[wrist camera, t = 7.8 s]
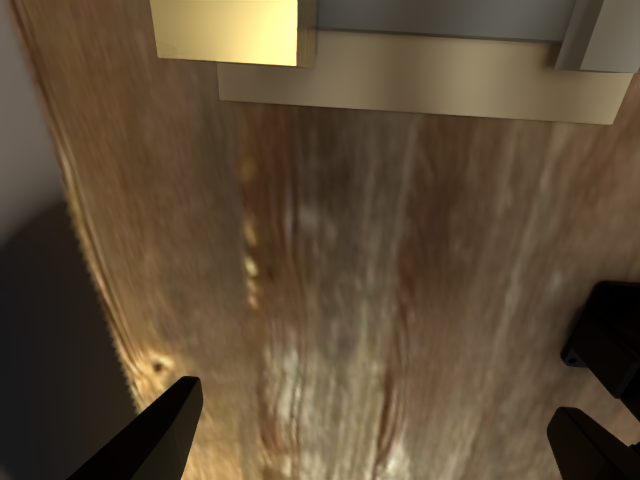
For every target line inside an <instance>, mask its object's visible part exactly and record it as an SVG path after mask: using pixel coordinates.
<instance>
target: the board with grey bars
mask: <svg viewBox="0 0 640 480" xmlns="http://www.w3.org/2000/svg"><path fill="white" fill-rule="evenodd" d="M639 67H640V0H320V3H319V26H318V48H317V56H316V55H314V69H303V68H286V67H270V66H253V65H236V64H224V63H217V72H218V86H219V99H220V100H225V101H241V102H257V103H273V104H289V105H304V106H320V107H336V108H352V109H368V110H384V111H400V112H416V113H432V114H448V115H464V116H480V117H496V118H511V119H527V120H543V121H559V122H575V123H591V124H607V125H612V124H613V122H614V119H615V117H616V115H617V112H618V110H619V107H620V105H621V103H622V100H623V98H624V96H625V93H626V91H627V88H628V86H629V84H630V81H631V79H632V77H633V74H634V73H637V72H638V69H639Z"/></svg>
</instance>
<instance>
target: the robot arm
mask: <svg viewBox="0 0 640 480" xmlns="http://www.w3.org/2000/svg"><path fill="white" fill-rule="evenodd" d="M607 289H608V290H607ZM606 290H607V291H606ZM561 359H562V361H563V362H564V363H565V364H566V365H567V366H573V367H586V368H589V369H590V370H591V371H592V373H593V374H594V375H595V376H596V377H597V378H598V380H599V381H600V382H601V383H602V384H603V386H604V387H605V388H606V389H607V390H608V391H609V393H610V394H611V395H612V396H613V397H614V398H616V399H620V400H621V401H622V402H623V404H624V405H625V406H626V407H627V408H628V409H629V411H630V412H631V413H632V414H633V415H634V416H635V417H636V419H637V420H638V421H639V422H640V284H637V283H623V282H609V281H606V282H602V283H600V284H599V285H597V287H596V288H595V290H594V292H593V294H592V296H591V298H590V300H589V302H588V304H587V306H586V308H585V310H584V312H583V314H582V316H581V318H580V320H579V322H578V324H577V326H576V328H575V330H574V332H573V334H572V336H571V338H570V340H569V342H568V344H567V346H566V348H565V350H564V352H563V354H562V356H561ZM202 407H203V393H202V387H201V381H200V378H199V377H193V376H183V377H181V378H180V379H179V380H178V381H177V382H176V383H174V384H173V385H172V386H171V387H170V388H169V389H168V390H166V391H165V392H164V393H163V394H162V395H161V396H160V397H159V398H157V399H156V400H155V401H154V402H153V403H152V404H151V405H150V406H148V407H147V408H146V409H145V410H144V411H143V412H142V413H140V414H139V415H138V416H137V417H136V418H135V419H134V420H133V421H131V422H130V423H129V424H128V425H127V426H126V427H125V428H124V429H122V430H121V431H120V432H119V433H118V434H117V435H116V436H114V438H112V439H111V440H110V441H109V442H108V443H107V444H105V445H104V446H103V447H102V448H101V449H100V450H99V451H97V452H96V453H95V454H94V455H93V456H92V457H91V458H90V459H89V460H87V461H86V462H85V463H84V464H83V465H82V466H81V467H79V468H78V469H77V470H76V471H75V472H74V473H73V474H71V475H70V476H69V477H68V478H67V479H66V480H181V477H182V475H183V472H184V468H185V465H186V462H187V459H188V455H189V452H190V448H191V445H192V441H193V438H194V435H195V431H196V428H197V424H198V421H199V417H200V414H201V411H202ZM547 437H548V440H549V443H550V445H551V448H552V451H553V454H554V457H555V460H556V462H557V465H558V468H559V471H560V474H561V476H562V479H563V480H640V442H638V443H637V444H636V445H633V444H632V445H630V446H629V447H628V446H626V445H625V444H624V443H623V442H621V441H620V440H619V439H617V438H616V437H615V436H614V435H612V434H611V433H610V432H608V431H607V430H606V429H605V428H603V427H602V426H601V425H600V424H598V423H597V422H596V421H594V420H593V419H592V418H591V417H589V416H588V415H587V414H585V413H584V412H583V411H581V410H580V409H578V408H574V407H559V408H558V409H557V410H556V412H555V413H554V415H553V417H552V419H551V421H550V423H549V424H548V426H547Z"/></svg>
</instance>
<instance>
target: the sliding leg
mask: <svg viewBox="0 0 640 480" xmlns="http://www.w3.org/2000/svg"><path fill="white" fill-rule="evenodd" d="M319 3H320V0H150V4H151V11H152V18H153V25H154V32H155V39H156V46H157V53H158V58H168V59H179V60H190V61H202V62H213V63H224V64H236V65H253V66H270V67H286V68H303V69H314V55H316V56H317V48H318V26H319Z"/></svg>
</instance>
